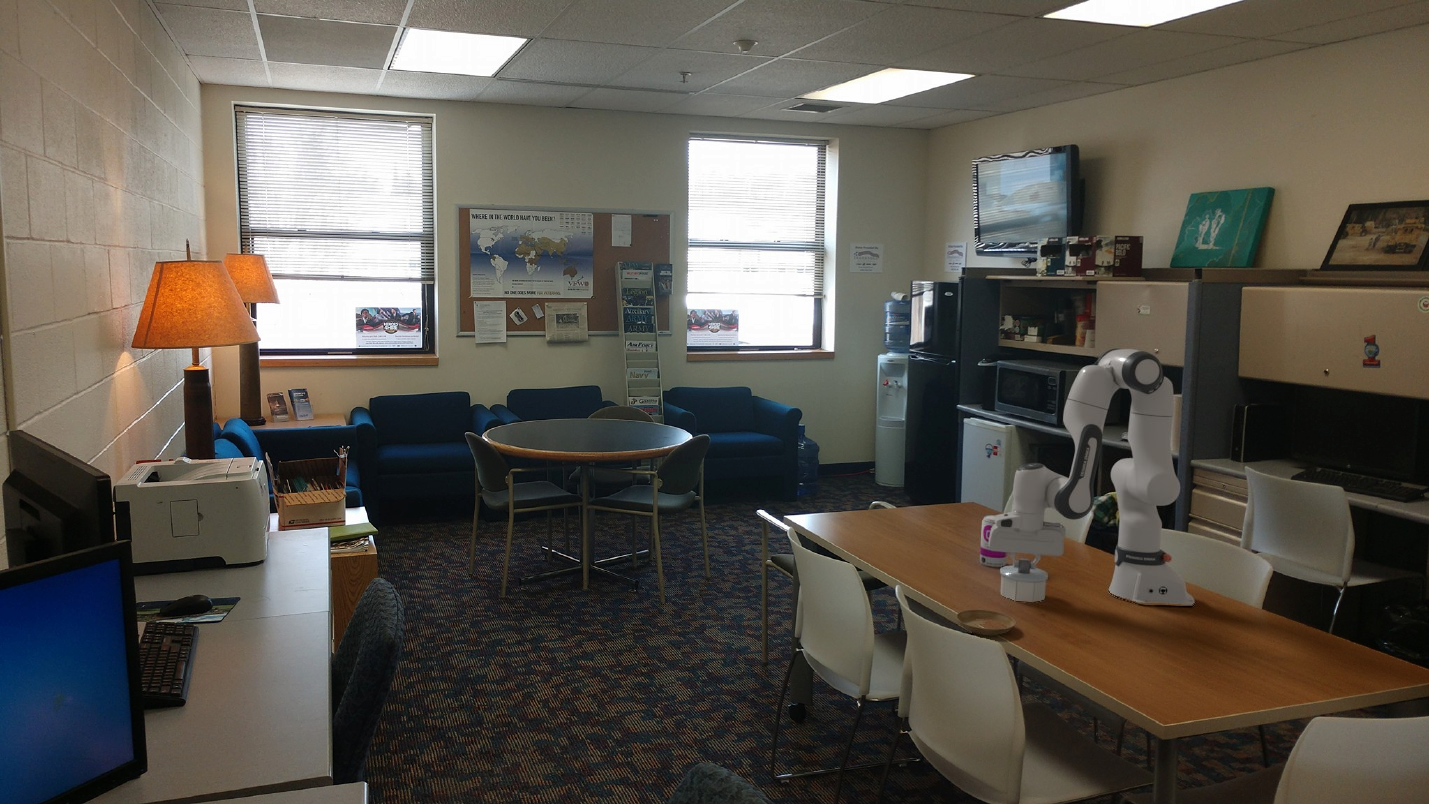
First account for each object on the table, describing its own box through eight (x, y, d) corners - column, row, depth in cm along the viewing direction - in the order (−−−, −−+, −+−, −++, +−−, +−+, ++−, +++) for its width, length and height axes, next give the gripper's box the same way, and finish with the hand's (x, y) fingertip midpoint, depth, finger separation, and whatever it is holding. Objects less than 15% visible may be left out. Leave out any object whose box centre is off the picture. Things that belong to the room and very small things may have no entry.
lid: (1044, 571, 278) (1045, 555, 277) (1050, 584, 265) (1051, 568, 265) (998, 567, 281) (999, 552, 280) (1001, 580, 268) (1002, 564, 267)
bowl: (1041, 591, 278) (1042, 571, 277) (1046, 604, 267) (1047, 583, 266) (999, 587, 280) (1000, 567, 280) (1002, 600, 269) (1004, 579, 269)
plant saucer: (958, 636, 241) (958, 626, 241) (953, 616, 255) (953, 607, 255) (1019, 641, 239) (1019, 631, 238) (1010, 621, 253) (1011, 611, 253)
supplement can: (1000, 569, 299) (1003, 522, 298) (975, 564, 304) (978, 518, 302) (1010, 563, 306) (1013, 517, 304) (985, 558, 311) (988, 513, 309)
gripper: (1064, 520, 272) (1061, 568, 274) (989, 515, 276) (986, 562, 278) (1067, 526, 266) (1064, 574, 267) (991, 520, 270) (988, 568, 272)
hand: (1024, 568), depth 273 cm, fingers closed on lid, 3 cm apart
